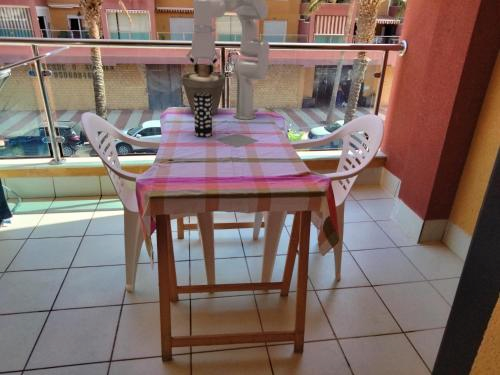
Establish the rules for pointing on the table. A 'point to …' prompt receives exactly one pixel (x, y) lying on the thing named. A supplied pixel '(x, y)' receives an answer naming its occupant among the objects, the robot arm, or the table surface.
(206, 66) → the lid
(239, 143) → the mat
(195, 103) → the polka dot cylinder
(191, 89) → the plant pot
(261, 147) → the table surface
